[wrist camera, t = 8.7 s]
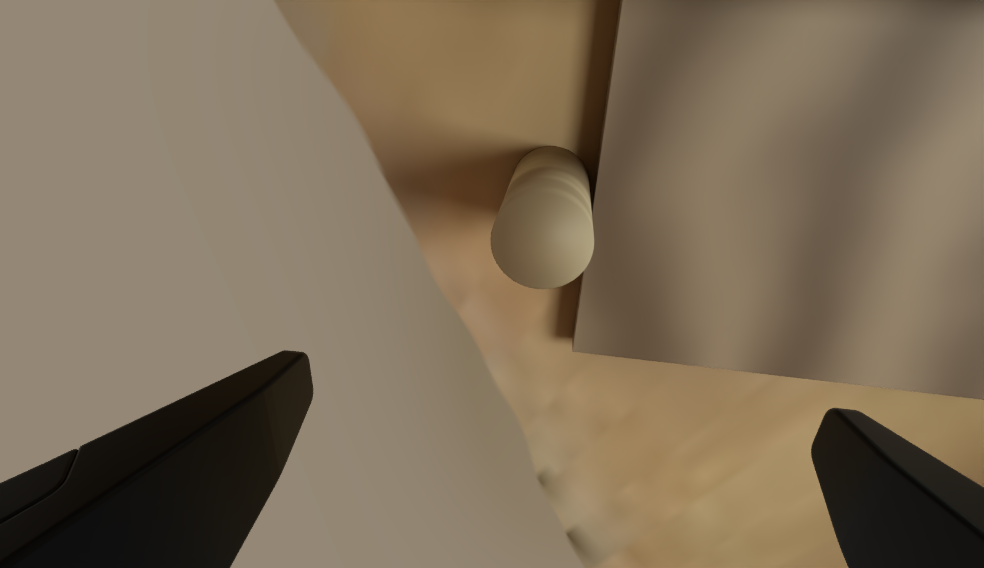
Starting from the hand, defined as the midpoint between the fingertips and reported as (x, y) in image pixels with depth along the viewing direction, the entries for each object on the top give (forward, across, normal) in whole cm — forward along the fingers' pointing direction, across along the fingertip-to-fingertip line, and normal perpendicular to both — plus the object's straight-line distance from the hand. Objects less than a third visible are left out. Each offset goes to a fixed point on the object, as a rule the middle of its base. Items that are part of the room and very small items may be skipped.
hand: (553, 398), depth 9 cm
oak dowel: (+13, 0, 0) cm, 13 cm away
